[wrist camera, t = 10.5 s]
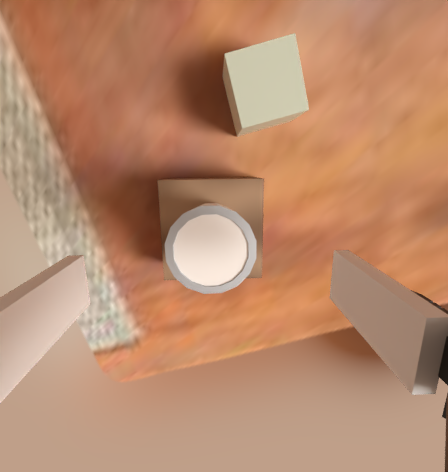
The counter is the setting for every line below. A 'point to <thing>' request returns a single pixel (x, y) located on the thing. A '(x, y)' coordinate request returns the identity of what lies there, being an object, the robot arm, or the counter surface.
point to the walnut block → (213, 191)
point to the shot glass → (210, 249)
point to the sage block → (265, 84)
